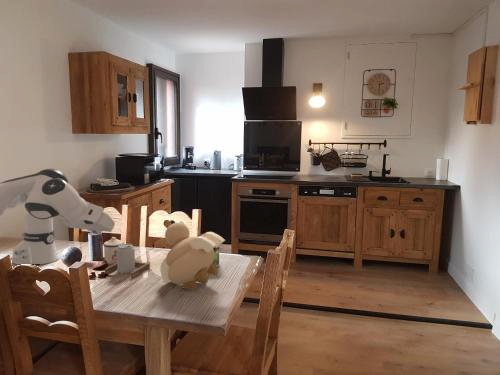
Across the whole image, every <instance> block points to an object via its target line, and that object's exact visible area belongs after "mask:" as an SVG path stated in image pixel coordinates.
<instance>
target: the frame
mask: <svg viewBox="0 0 500 375" xmlns="http://www.w3.org/2000/svg"><path fill="white" fill-rule="evenodd" d="M150 267H151V266H150V263H149V262H141V261H136V260H135V270H134V271H133V272H131V273H130V275H131V276H130V278H131V279H135V278H136V277H138V276H139V275H141V274H143V273H145V272H146V271H148V270H150V269H151V268H150ZM115 271H117V263H116V264H111V265H110V266H108V267H106V268H104V274H105V273H107V275H110V274H111V273H113V272H115Z"/></svg>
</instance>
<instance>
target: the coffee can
mask: <svg viewBox="0 0 500 375" xmlns="http://www.w3.org/2000/svg"><path fill="white" fill-rule="evenodd" d="M205 233H206V232H205ZM205 233H200V234H197V237H199V236H201V235H203V234H205ZM216 234H217V235H219V236H220V234H218V233H216ZM213 250H214V253H215V257H214V261H213V263H214V262H216V261H217V267H219V265H220V246H219V247H217V248H216V247H214V248H213ZM213 263H212V264H213Z"/></svg>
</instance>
